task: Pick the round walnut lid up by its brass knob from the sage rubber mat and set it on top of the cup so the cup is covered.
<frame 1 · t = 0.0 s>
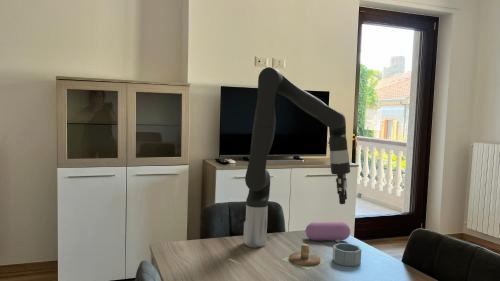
hand: (343, 201, 163), 22 cm above the table, tool pointing down, fingers open, 8 cm apart
cup: (346, 262, 158), on the table
lid: (304, 260, 158), resting on mat
toy: (327, 241, 185), on the table
mat: (304, 261, 158), on the table
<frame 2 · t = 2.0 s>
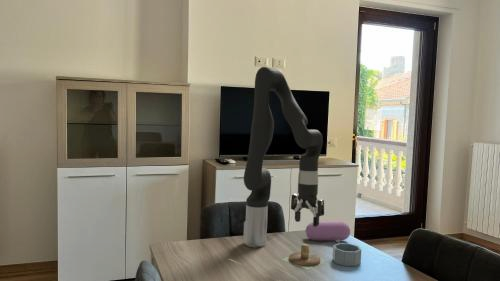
hand: (306, 223, 157), 15 cm above the table, tool pointing down, fingers open, 8 cm apart
nothing on the table moved.
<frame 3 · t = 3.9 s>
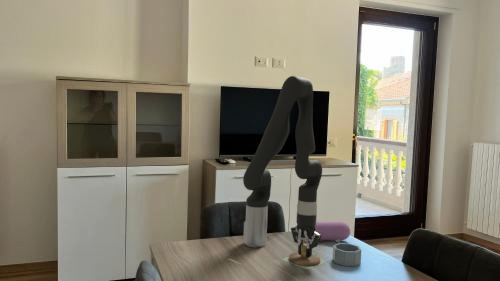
hand: (304, 255, 158), 2 cm above the table, tool pointing down, fingers closed on lid, 3 cm apart
lid: (304, 260, 158), point 1 cm above the table, touching gripper, mat
everything else where it was.
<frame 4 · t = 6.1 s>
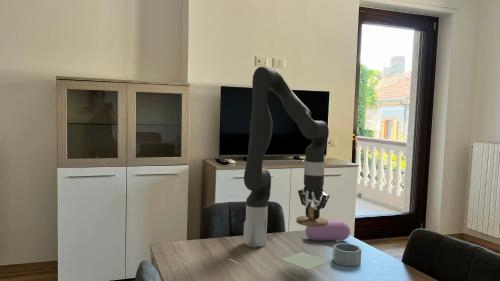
hand: (312, 217, 156), 17 cm above the table, tool pointing down, fingers closed on lid, 3 cm apart
lid: (312, 222, 156), point 16 cm above the table, touching gripper
everything else where it was.
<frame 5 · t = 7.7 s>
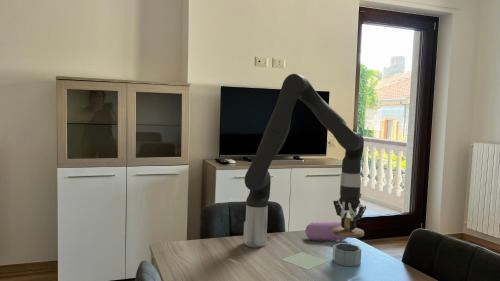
hand: (348, 228, 157), 14 cm above the table, tool pointing down, fingers closed on lid, 3 cm apart
lid: (347, 233, 157), point 12 cm above the table, touching gripper
everything else where it was.
when the fingers open (9 cm above the table, at t = 8.7 s): lid drops 1 cm, resting on cup.
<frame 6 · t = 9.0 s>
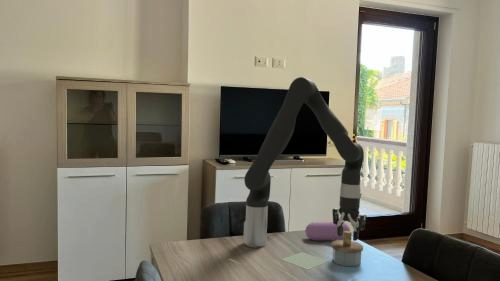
hand: (347, 237, 157), 10 cm above the table, tool pointing down, fingers open, 6 cm apart
lid: (346, 247, 158), point 6 cm above the table, touching cup
everything else where it was.
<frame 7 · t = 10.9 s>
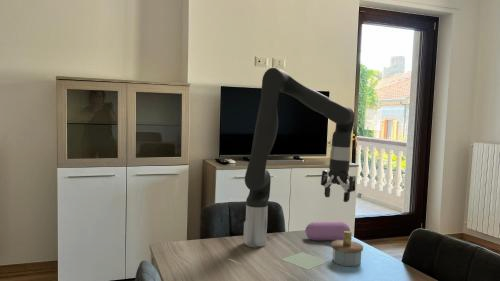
hand: (336, 199, 159), 24 cm above the table, tool pointing down, fingers open, 8 cm apart
nothing on the table moved.
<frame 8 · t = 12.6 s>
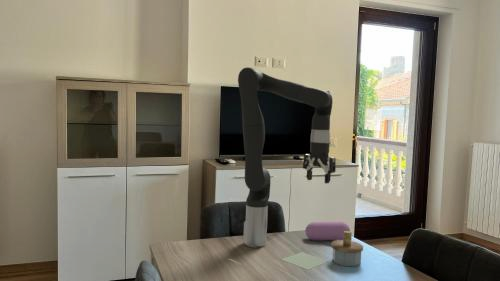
hand: (318, 181, 163), 30 cm above the table, tool pointing down, fingers open, 8 cm apart
nothing on the table moved.
at the end: lid 0.1 cm off-centre on the cup, point 6.0 cm above the cup's base; lid tilted 0°; the gripper is holding nothing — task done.
